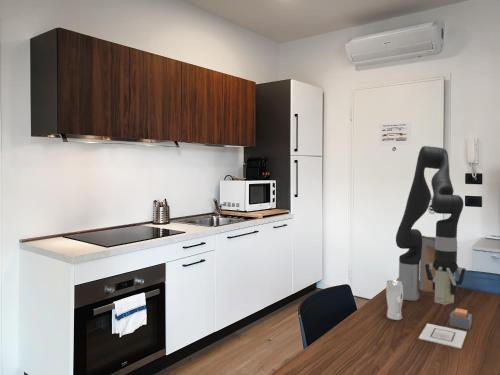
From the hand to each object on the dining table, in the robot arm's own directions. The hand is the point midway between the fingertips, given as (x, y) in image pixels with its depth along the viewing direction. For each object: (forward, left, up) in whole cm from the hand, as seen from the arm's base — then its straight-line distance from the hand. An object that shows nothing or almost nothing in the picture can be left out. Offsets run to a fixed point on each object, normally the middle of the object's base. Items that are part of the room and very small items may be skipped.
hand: (444, 292), depth 149 cm
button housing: (+4, +15, -16) cm, 23 cm away
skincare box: (0, 0, -4) cm, 4 cm away
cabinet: (-8, +50, -17) cm, 53 cm away
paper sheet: (0, 0, -16) cm, 16 cm away
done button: (+4, +15, -13) cm, 20 cm away
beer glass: (-20, +8, -17) cm, 27 cm away
